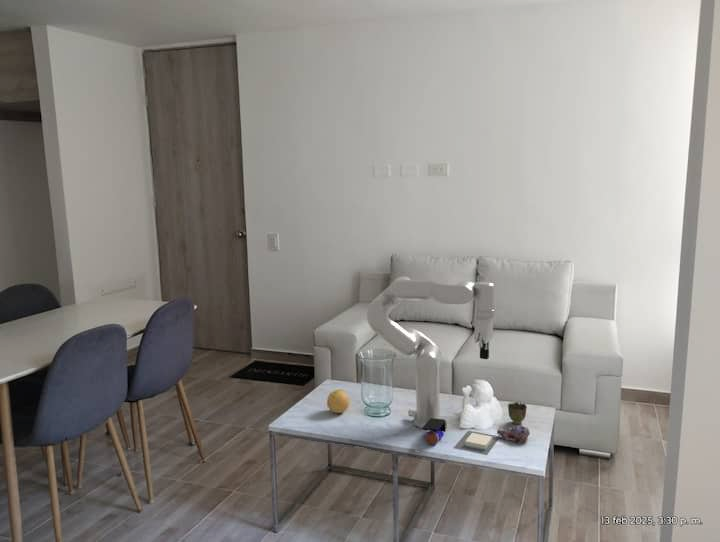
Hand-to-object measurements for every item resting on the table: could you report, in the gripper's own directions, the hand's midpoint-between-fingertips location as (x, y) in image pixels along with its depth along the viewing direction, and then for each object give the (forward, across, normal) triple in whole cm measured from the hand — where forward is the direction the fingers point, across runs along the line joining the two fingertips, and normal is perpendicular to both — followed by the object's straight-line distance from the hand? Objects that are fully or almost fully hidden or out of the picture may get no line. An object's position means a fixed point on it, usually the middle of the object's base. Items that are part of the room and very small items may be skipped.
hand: (484, 358), depth 235 cm
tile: (+28, +12, +3) cm, 30 cm away
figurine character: (+29, +18, -14) cm, 37 cm away
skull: (+29, +6, +13) cm, 33 cm away
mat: (+29, +15, +2) cm, 33 cm away
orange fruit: (+29, +12, -62) cm, 70 cm away
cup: (+29, -9, +11) cm, 33 cm away
